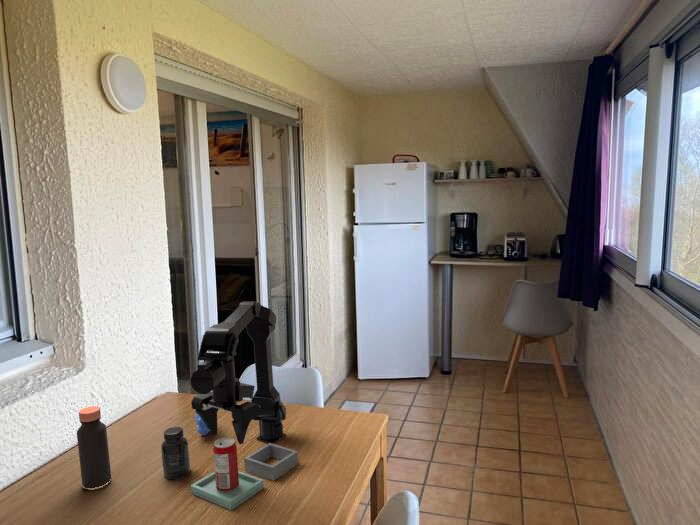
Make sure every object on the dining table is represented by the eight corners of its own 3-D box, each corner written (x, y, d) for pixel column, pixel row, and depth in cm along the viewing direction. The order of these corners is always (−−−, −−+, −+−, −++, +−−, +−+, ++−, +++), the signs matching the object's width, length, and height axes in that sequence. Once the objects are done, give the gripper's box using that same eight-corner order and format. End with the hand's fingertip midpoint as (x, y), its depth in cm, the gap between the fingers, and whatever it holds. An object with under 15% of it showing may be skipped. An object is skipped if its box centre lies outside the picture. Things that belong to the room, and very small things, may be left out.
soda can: (238, 479, 134) (234, 434, 133) (240, 490, 129) (236, 444, 128) (215, 483, 133) (212, 438, 131) (216, 495, 128) (213, 448, 126)
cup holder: (245, 470, 140) (244, 458, 140) (270, 454, 148) (269, 442, 148) (273, 480, 135) (272, 467, 134) (298, 463, 143) (297, 451, 142)
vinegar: (117, 478, 139) (109, 405, 137) (100, 492, 132) (92, 416, 130) (94, 476, 140) (86, 404, 138) (76, 490, 134) (68, 414, 131)
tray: (191, 493, 130) (190, 485, 130) (224, 472, 139) (224, 465, 139) (231, 509, 123) (230, 501, 122) (263, 487, 132) (263, 479, 131)
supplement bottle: (195, 468, 142) (192, 426, 141) (180, 482, 136) (176, 437, 134) (174, 465, 145) (171, 423, 143) (157, 478, 138) (154, 434, 137)
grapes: (216, 442, 158) (213, 403, 156) (193, 444, 157) (190, 405, 155) (220, 425, 169) (218, 389, 167) (199, 427, 168) (196, 391, 167)
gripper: (274, 374, 130) (278, 434, 132) (221, 363, 140) (226, 419, 142) (241, 389, 121) (246, 453, 123) (187, 376, 131) (192, 436, 133)
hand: (227, 439), depth 130 cm, fingers open, 9 cm apart
